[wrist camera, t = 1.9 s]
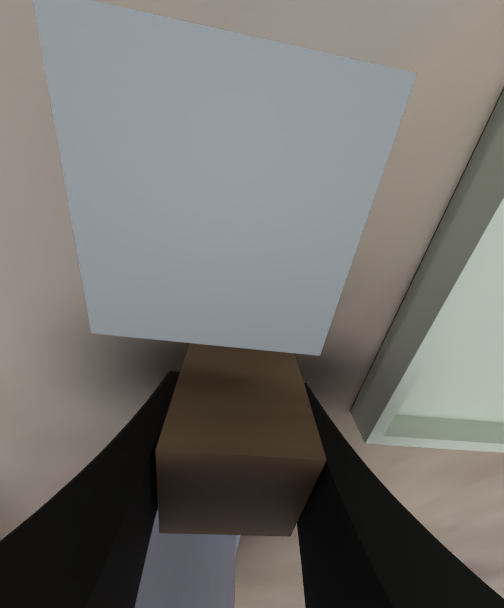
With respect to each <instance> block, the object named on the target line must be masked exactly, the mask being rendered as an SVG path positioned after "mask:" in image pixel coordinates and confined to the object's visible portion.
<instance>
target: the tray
mask: <svg viewBox="0 0 504 608" xmlns="http://www.w3.org/2000/svg"><path fill="white" fill-rule="evenodd" d="M350 412H351V414H352V416H353V418H354V420H355V423H356V425H357V427H358V429H359V431H360V434H361V436H362V438H363V440H364V442H365V444H378V445H394V446H409V447H425V448H440V449H456V450H472V451H487V452H503V453H504V90H503V92H502V94H501V96H500V98H499V101H498V103H497V105H496V107H495V109H494V111H493V113H492V115H491V117H490V119H489V122H488V124H487V126H486V128H485V130H484V132H483V134H482V136H481V138H480V140H479V143H478V145H477V147H476V149H475V151H474V153H473V155H472V157H471V159H470V161H469V164H468V166H467V168H466V170H465V172H464V174H463V176H462V178H461V180H460V182H459V185H458V187H457V189H456V191H455V193H454V195H453V197H452V199H451V201H450V203H449V206H448V208H447V210H446V212H445V214H444V216H443V218H442V220H441V222H440V224H439V227H438V229H437V231H436V233H435V235H434V237H433V239H432V241H431V243H430V245H429V247H428V250H427V252H426V254H425V256H424V258H423V260H422V262H421V264H420V266H419V268H418V271H417V273H416V275H415V277H414V279H413V281H412V283H411V285H410V287H409V289H408V292H407V294H406V296H405V298H404V300H403V302H402V304H401V306H400V308H399V310H398V313H397V315H396V317H395V319H394V321H393V323H392V325H391V327H390V329H389V331H388V334H387V336H386V338H385V340H384V342H383V344H382V346H381V348H380V350H379V352H378V355H377V357H376V359H375V361H374V363H373V365H372V367H371V369H370V371H369V373H368V376H367V378H366V380H365V382H364V384H363V386H362V388H361V390H360V392H359V394H358V397H357V399H356V401H355V403H354V405H353V407H352V409H351V411H350Z"/></svg>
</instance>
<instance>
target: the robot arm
mask: <svg viewBox="0 0 504 608" xmlns="http://www.w3.org/2000/svg"><path fill="white" fill-rule="evenodd" d="M179 374H180V372H176V371H170V372H168V373H167V374H166V376H165V377H164V379H163V380H162V382H161V383H160V385H159V386H158V387H157V389H156V390H155V391H154V393H153V394H152V395H151V396H150V398H149V399H148V400H147V401H146V403H145V404H144V405H143V406H142V407H141V409H140V410H139V411H138V412H137V413H136V415H135V416H134V417H133V418H132V419H131V420H130V421H129V423H128V424H127V425H126V426H125V427H124V428H123V429H122V430H121V431H120V432H119V433H118V435H117V436H116V437H115V438H114V439H113V440H112V441H111V442H110V443H109V444H108V445H107V446H106V447H105V448H104V449H103V450H102V451H101V452H100V453H99V454H98V455H97V456H96V457H95V458H94V459H93V460H92V461H91V462H90V463H89V464H88V465H87V466H86V467H85V468H84V469H83V470H82V471H81V472H80V473H79V474H78V475H77V476H76V477H74V478H73V479H72V480H71V481H70V482H69V483H68V484H67V485H66V486H64V487H63V488H62V489H61V490H60V491H59V492H58V493H57V494H56V495H54V496H53V497H52V498H51V499H50V500H49V501H48V502H47V503H45V504H44V505H43V506H42V507H41V508H40V509H39V510H37V511H36V512H35V513H34V514H33V515H31V516H30V517H29V518H28V519H27V520H25V521H24V522H23V523H22V524H21V525H19V526H18V527H17V528H16V529H14V530H13V531H12V532H11V533H9V534H8V535H7V536H6V537H5V538H3V539H2V540H1V541H0V608H234V601H235V555H236V551H237V548H238V544H239V540H240V537H241V535H212V534H171V533H159V519H158V497H157V474H156V452H155V450H156V447H157V444H158V441H159V437H160V434H161V431H162V428H163V425H164V422H165V419H166V415H167V412H168V409H169V406H170V403H171V400H172V396H173V393H174V390H175V387H176V384H177V381H178V377H179ZM304 385H305V389H306V392H307V395H308V399H309V402H310V406H311V409H312V412H313V416H314V419H315V422H316V426H317V429H318V433H319V436H320V439H321V443H322V446H323V449H324V453H325V456H326V462H325V464H324V466H323V469H322V471H321V473H320V475H319V477H318V479H317V481H316V483H315V485H314V488H313V490H312V492H311V494H310V496H309V498H308V500H307V502H306V504H305V507H304V509H303V511H302V513H301V515H300V517H299V519H298V521H297V527H298V536H299V546H300V555H301V564H302V575H303V585H304V595H305V606H306V608H504V599H503V598H502V597H501V596H500V595H499V594H497V593H496V592H495V591H494V590H493V589H491V588H490V587H489V586H488V585H487V584H486V583H484V582H483V581H482V580H481V579H480V578H479V577H478V576H476V575H475V574H474V573H473V572H472V571H471V570H470V569H469V568H468V567H466V566H465V565H464V564H463V563H462V562H461V561H460V560H459V559H458V558H457V557H455V556H454V555H453V554H452V553H451V552H450V551H449V550H448V549H447V548H446V547H445V546H444V545H442V544H441V543H440V542H439V541H438V540H437V539H436V538H435V537H434V536H433V535H432V534H431V533H430V532H429V531H428V530H427V529H426V528H425V527H424V526H423V525H422V524H421V523H420V522H419V521H418V520H417V519H416V518H415V517H414V516H413V515H412V514H411V513H410V512H409V511H408V510H407V509H406V508H405V507H404V506H403V505H402V504H401V503H400V502H399V501H398V500H397V499H396V498H395V497H394V496H393V495H392V494H391V493H390V491H389V490H388V489H387V488H386V487H385V486H384V485H383V484H382V483H381V482H380V480H379V479H378V478H377V477H376V476H375V475H374V474H373V473H372V471H371V470H370V469H369V468H368V467H367V466H366V464H365V463H364V462H363V461H362V460H361V458H360V457H359V456H358V455H357V453H356V452H355V451H354V450H353V448H352V447H351V446H350V444H349V443H348V442H347V441H346V439H345V438H344V437H343V435H342V434H341V433H340V431H339V430H338V429H337V427H336V426H335V424H334V423H333V422H332V420H331V419H330V418H329V416H328V415H327V413H326V412H325V410H324V409H323V407H322V406H321V405H320V403H319V402H318V400H317V399H316V397H315V396H314V394H313V393H312V391H311V390H310V388H309V387H308V385H307V384H306V383H304Z"/></svg>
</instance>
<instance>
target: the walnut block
mask: <svg viewBox="0 0 504 608" xmlns="http://www.w3.org/2000/svg"><path fill="white" fill-rule="evenodd" d="M155 452H156V474H157V497H158V519H159V533H171V534H212V535H253V536H291V534H292V532H293V530H294V528H295V526H296V523H297V521H298V519H299V517H300V515H301V513H302V511H303V509H304V507H305V504H306V502H307V500H308V498H309V496H310V494H311V492H312V490H313V488H314V485H315V483H316V481H317V479H318V477H319V475H320V473H321V471H322V469H323V466H324V464H325V462H326V456H325V453H324V449H323V446H322V443H321V439H320V436H319V433H318V429H317V426H316V422H315V419H314V416H313V412H312V409H311V406H310V402H309V399H308V395H307V392H306V389H305V385H304V382H303V379H302V375H301V372H300V368H299V365H298V362H297V358H296V355H295V353H286V352H276V351H266V350H256V349H245V348H235V347H225V346H215V345H205V344H194V343H189V346H188V349H187V352H186V355H185V358H184V362H183V365H182V368H181V371H180V374H179V377H178V381H177V384H176V387H175V390H174V393H173V396H172V400H171V403H170V406H169V409H168V412H167V415H166V419H165V422H164V425H163V428H162V431H161V434H160V437H159V441H158V444H157V447H156V450H155Z"/></svg>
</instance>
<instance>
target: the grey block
mask: <svg viewBox="0 0 504 608" xmlns="http://www.w3.org/2000/svg"><path fill="white" fill-rule="evenodd" d="M33 3H34V9H35V15H36V21H37V26H38V32H39V38H40V44H41V49H42V55H43V61H44V67H45V72H46V78H47V84H48V89H49V95H50V101H51V107H52V112H53V118H54V124H55V130H56V135H57V141H58V147H59V153H60V158H61V164H62V170H63V175H64V181H65V187H66V193H67V198H68V204H69V210H70V216H71V221H72V227H73V233H74V238H75V244H76V250H77V256H78V261H79V267H80V273H81V279H82V284H83V290H84V296H85V302H86V307H87V313H88V319H89V324H90V330H91V333H92V334H103V335H113V336H123V337H133V338H143V339H154V340H164V341H174V342H184V343H194V344H205V345H215V346H225V347H235V348H245V349H256V350H266V351H276V352H286V353H297V354H307V355H317V356H320V354H321V351H322V349H323V346H324V343H325V340H326V337H327V334H328V331H329V328H330V325H331V322H332V319H333V317H334V314H335V311H336V308H337V305H338V302H339V299H340V296H341V293H342V290H343V287H344V285H345V282H346V279H347V276H348V273H349V270H350V267H351V264H352V261H353V258H354V255H355V253H356V250H357V247H358V244H359V241H360V238H361V235H362V232H363V229H364V226H365V223H366V221H367V218H368V215H369V212H370V209H371V206H372V203H373V200H374V197H375V194H376V191H377V189H378V186H379V183H380V180H381V177H382V174H383V171H384V168H385V165H386V162H387V159H388V157H389V154H390V151H391V148H392V145H393V142H394V139H395V136H396V133H397V130H398V128H399V125H400V122H401V119H402V116H403V113H404V110H405V107H406V104H407V101H408V98H409V96H410V93H411V90H412V87H413V84H414V81H415V78H416V75H417V73H414V72H410V71H405V70H401V69H396V68H392V67H387V66H383V65H378V64H374V63H369V62H365V61H360V60H356V59H352V58H347V57H343V56H338V55H334V54H329V53H325V52H320V51H316V50H311V49H307V48H302V47H298V46H294V45H289V44H285V43H280V42H276V41H271V40H267V39H262V38H258V37H253V36H249V35H244V34H240V33H236V32H231V31H227V30H222V29H218V28H213V27H209V26H204V25H200V24H195V23H191V22H186V21H182V20H178V19H173V18H169V17H164V16H160V15H155V14H151V13H146V12H142V11H137V10H133V9H128V8H124V7H119V6H115V5H111V4H106V3H102V2H97V1H93V0H33Z"/></svg>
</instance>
